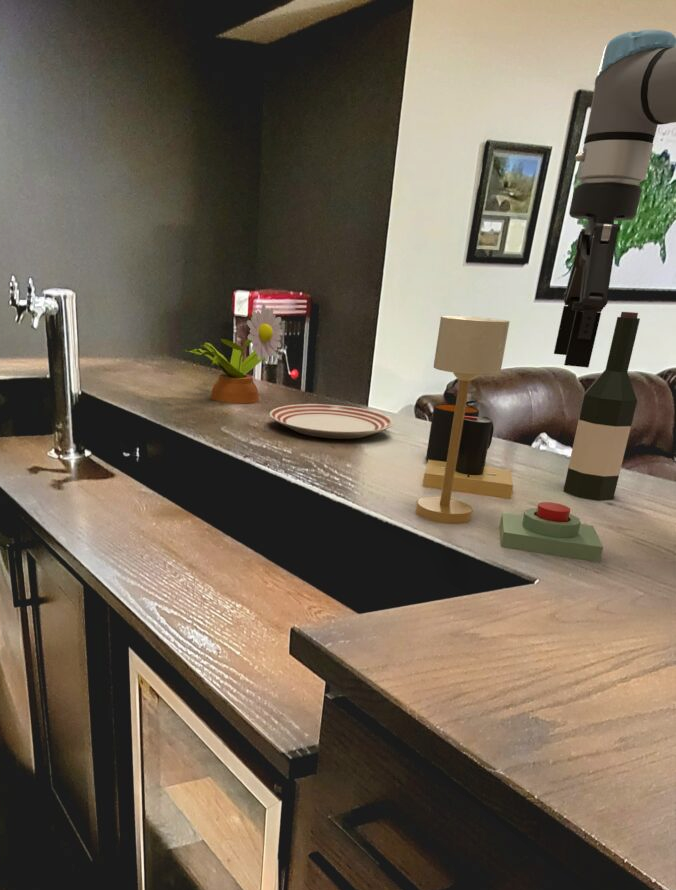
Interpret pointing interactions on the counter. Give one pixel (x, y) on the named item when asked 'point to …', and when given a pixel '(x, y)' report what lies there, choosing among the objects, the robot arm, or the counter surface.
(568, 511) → the lamp button
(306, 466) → the counter surface
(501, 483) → the tan flat block
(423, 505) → the lamp
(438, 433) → the mug
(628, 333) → the wine bottle
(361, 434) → the dinner plate
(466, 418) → the black cylinder
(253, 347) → the decorative plant
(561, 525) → the switch block
